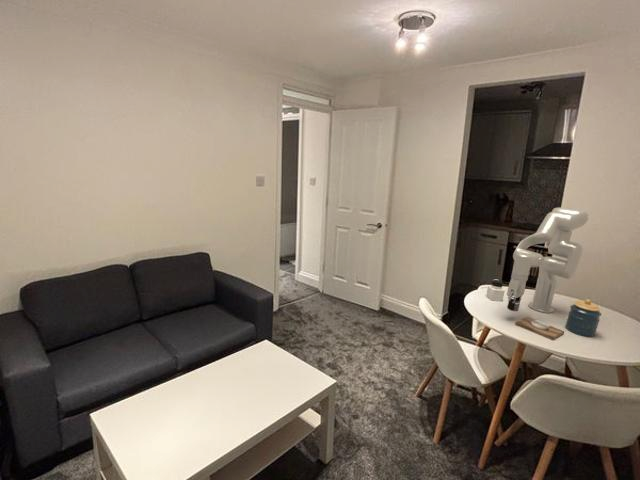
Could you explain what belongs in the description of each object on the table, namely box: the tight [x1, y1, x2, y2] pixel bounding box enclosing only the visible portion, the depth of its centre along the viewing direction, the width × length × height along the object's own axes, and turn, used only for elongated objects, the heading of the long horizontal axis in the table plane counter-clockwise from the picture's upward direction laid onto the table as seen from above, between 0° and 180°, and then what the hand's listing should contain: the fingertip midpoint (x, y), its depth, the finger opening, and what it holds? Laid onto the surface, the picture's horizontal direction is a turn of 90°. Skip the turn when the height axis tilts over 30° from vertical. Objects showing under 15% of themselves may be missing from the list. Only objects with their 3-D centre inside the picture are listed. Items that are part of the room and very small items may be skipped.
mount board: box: [515, 316, 565, 341], centre depth 181 cm, size 13×18×3 cm
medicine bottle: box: [485, 279, 505, 302], centre depth 217 cm, size 7×7×12 cm
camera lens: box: [508, 300, 521, 312], centre depth 190 cm, size 5×5×5 cm
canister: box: [565, 298, 602, 338], centre depth 181 cm, size 13×13×18 cm
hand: (513, 307), depth 190 cm, fingers closed on camera lens, 5 cm apart
